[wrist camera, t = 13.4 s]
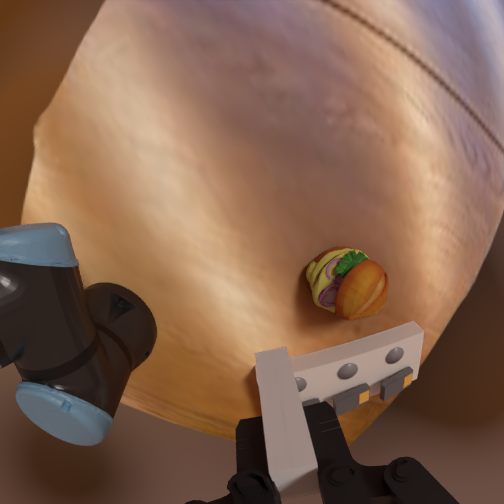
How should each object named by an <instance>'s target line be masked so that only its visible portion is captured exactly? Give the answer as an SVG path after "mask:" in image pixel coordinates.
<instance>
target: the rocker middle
mask: <svg viewBox="0 0 504 504" xmlns="http://www.w3.org/2000/svg"><path fill="white" fill-rule="evenodd" d="M369 397H370V386H369V385H368V384H367V383H364V384H362V385H360V386H358V387H356V388H354V389H352V390H349V391H347V392H345V393H343V394H341V395H338V396H336V397H334V398H332V400H333V408H334V410H335V413H336V415H337V416H339V415H341V414H343V413H345V412H348V411H350V410H352V409H354V408H356V407H358V406H360V405H362V404H364V403H366V402H368V401H369Z"/></svg>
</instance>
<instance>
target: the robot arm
mask: <svg viewBox="0 0 504 504" xmlns="http://www.w3.org/2000/svg"><path fill="white" fill-rule="evenodd" d="M78 265H79V262H78V260H77V259H76V257H75V253H74V250H73V247H72V243H71V239H70V235H69V233H68V231H67V230H66V228H65V227H63V226H62V225H60V224H57V223H36V224H27V225H20V226H14V227H8V228H2V229H0V369H1V368H3V367H5V366H7V365H9V364H11V363H13V362H14V364H15V366H16V367H17V369H18V372H19V373H20V375H21V377H22V382H20V383H19V384H18V385H17V390H16V400H17V403H18V405H19V407H20V408H21V410H22V411H23V412H24V413H25V414H26V416H27V417H28V418H29V419H30V420H31V421H33V422H34V423H35V424H36V425H37V426H39V427H40V428H42V429H43V430H45V431H46V432H48V433H49V434H51V435H53V436H55V437H57V438H59V439H61V440H63V441H66V442H69V443H72V444H76V445H83V446H92V445H96V444H99V443H100V442H101V441H103V440H104V438H105V437H106V434H107V432H108V431H109V429H110V427H111V425H112V424H113V418H114V415H115V412H116V410H117V407H118V405H119V402H120V399H121V397H122V394H123V392H124V389H125V386H126V384H127V381H128V379H129V376H130V374H131V372H132V371H133V370H134V369H135V368H137V367H138V366H139V365H140V364H141V363H142V362H144V361H145V360H146V359H147V358H148V356H149V355H150V354H151V352H152V350H153V347H154V344H155V342H156V337H157V327H156V323H155V319H154V317H153V315H152V313H151V311H150V309H149V308H148V306H147V305H146V304H145V303H144V302H143V300H142V299H141V298H140V297H138V296H137V295H136V294H135V293H133V292H132V291H130V290H129V289H127V288H125V287H123V286H120V285H117V284H113V283H96V284H93V285H91V286H89V287H87V288H86V289H85V290H84V287H83V283H82V279H81V275H80V271H79V267H78ZM255 357H256V366H257V375H258V383H259V392H260V401H261V410H262V416H259V417H254V418H248V419H241V420H240V421H239V424H238V426H237V428H236V460H237V474H235V475H234V476H232V478H231V479H230V480H229V481H228V485H227V489H228V490H229V491H230V493H229V494H228V495H227V496H224V497H222V498H220V499H217V500H214V501H211V502H208V503H207V502H204V501H201V500H193V501H189V502H187V503H185V504H282V503H281V500H287V499H292V498H298V497H302V496H307V495H312V494H316V493H321V497H322V501H323V504H459V503H458V502H457V501H456V499H454V497H452V495H451V494H450V493H449V492H448V491H447V490H446V489H445V488H444V487H443V486H442V485H441V484H440V483H439V482H438V481H437V480H436V479H435V478H434V477H433V476H432V475H431V474H430V473H429V472H428V471H427V470H426V469H425V468H424V467H423V466H422V465H421V464H420V462H418V461H417V460H415V459H414V458H411V457H400V458H397V459H395V460H393V461H392V462H391V463H390V464H389V465H383V466H364V465H361V464H359V463H357V462H356V461H355V460H354V459H353V458H352V456H351V454H350V451H349V448H348V445H347V443H346V440H345V437H344V434H343V432H342V429H341V427H340V424H339V421H338V418H337V415H336V413H335V410H334V408H333V407H332V406H331V405H330V404H329V403H327V402H326V401H323V402H319V403H316V404H312V405H308V406H304V407H302V403H301V399H300V395H299V391H298V388H297V384H296V380H295V376H294V373H293V369H292V365H291V362H290V358H289V354H288V350H287V347H286V346H285V347H281V348H277V349H272V350H268V351H263V352H258V353H255Z"/></svg>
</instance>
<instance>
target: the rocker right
mask: <svg viewBox="0 0 504 504" xmlns="http://www.w3.org/2000/svg"><path fill="white" fill-rule="evenodd" d="M412 376H413V369H412V368H411V367H409V366H408V367H407V368H405V369H404V370H402V371H400V372H399V373H397V374H396V375H394V376H392V377H391V378H389V379H387V380H386V381H384V382H382V383H381V387H380V398H381V399H382V400H383V401H386V400H387V399H389V398H391V397H392V396H394V395H395V394H397V393H398V392H400V391H402V390H403V389H405V388H406V387H408V386H409V385H410V384H411V381H412Z"/></svg>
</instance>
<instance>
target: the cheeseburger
mask: <svg viewBox="0 0 504 504" xmlns="http://www.w3.org/2000/svg"><path fill="white" fill-rule="evenodd" d="M306 277H307V280H308V282H309V286H310V289H311V292H312V295H313V300H314V303H315V304H316V305H317V306H319V307H322V308H324V309H327V310H329V311H331V312H333V313H336V314H337V316H338V317H340V318H343V319H346V320H355V319H361V318H367V317H370V316H373V315H375V314H376V313H377V312H378V311H380V310H381V308H382V307H383V305H384V303H385V301H386V298H387V294H388V276H387V274H386V272H385V271H384V269H383V268H382V267H381V266H380V265H379V264H378V263H376V262H375V261H372V260H369V258H368V256H367V255H366V254H365V253H363V252H362V251H360V250H357V249H356V250H355V249H352V248H350V247H334V248H332V249H329V250H327V251H324V252H323V253H322V254H321V255H320V256H318V257H317V258H316V259H315V260H314V261H313V262H312V263H310V264H309V266H308V268H307V270H306Z"/></svg>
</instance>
